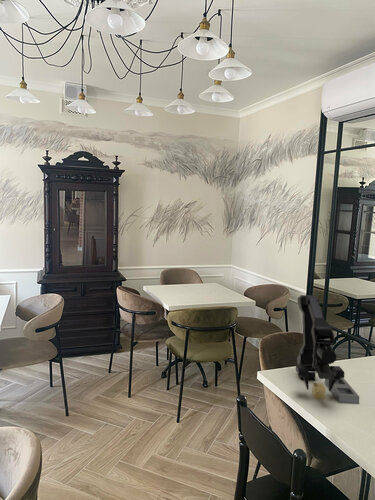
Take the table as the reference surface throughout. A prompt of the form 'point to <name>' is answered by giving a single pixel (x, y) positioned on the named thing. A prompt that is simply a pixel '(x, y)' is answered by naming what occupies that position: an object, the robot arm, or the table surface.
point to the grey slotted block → (343, 391)
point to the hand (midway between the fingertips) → (318, 390)
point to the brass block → (318, 391)
